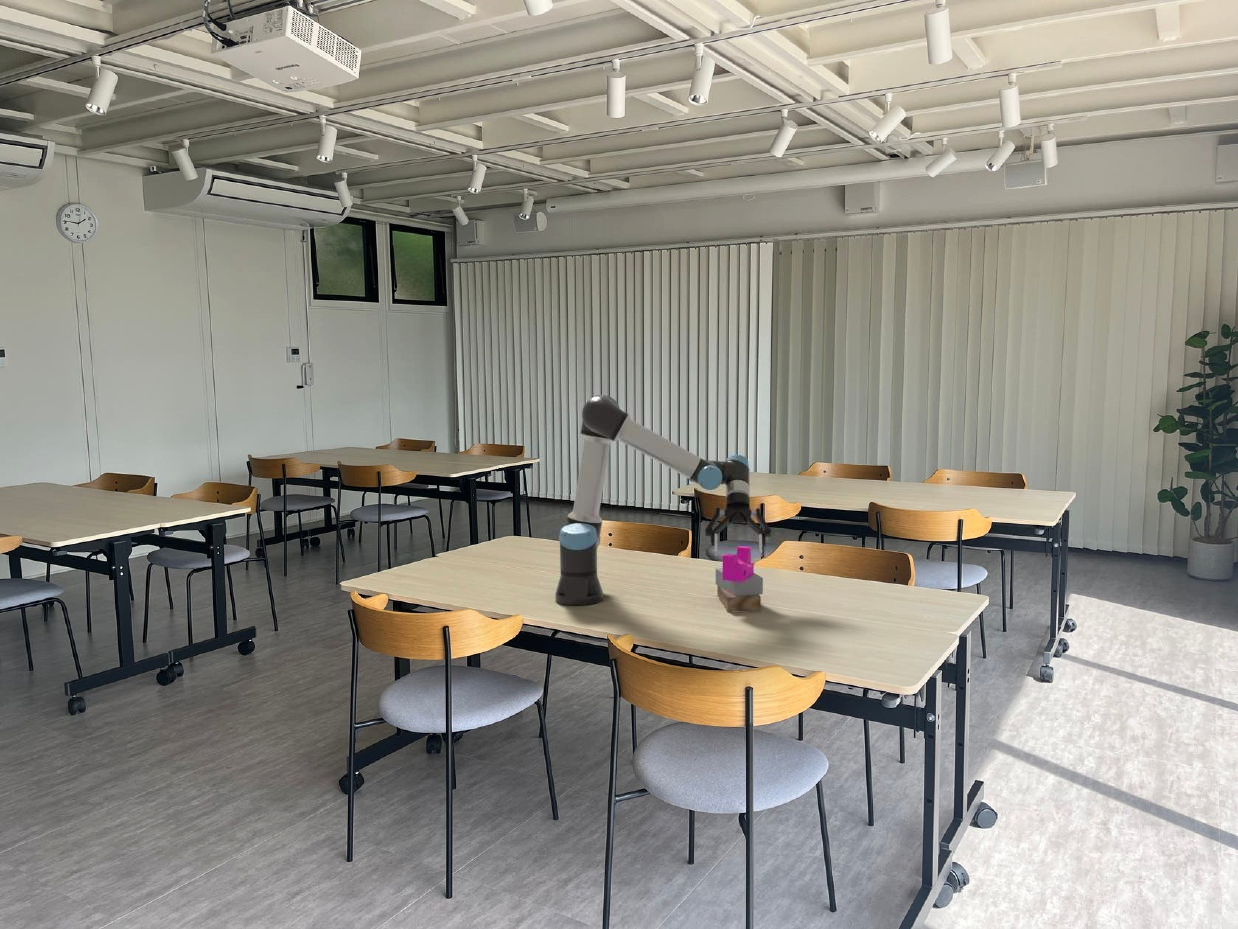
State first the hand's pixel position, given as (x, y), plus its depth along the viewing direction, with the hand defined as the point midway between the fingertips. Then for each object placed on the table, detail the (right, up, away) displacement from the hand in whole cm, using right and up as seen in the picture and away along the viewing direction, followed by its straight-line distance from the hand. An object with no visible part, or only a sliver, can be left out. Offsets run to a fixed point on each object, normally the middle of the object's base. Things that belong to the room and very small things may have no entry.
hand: (738, 554), depth 278 cm
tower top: (+1, -11, +5) cm, 12 cm away
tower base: (+1, -16, +5) cm, 17 cm away
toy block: (+1, -7, +1) cm, 7 cm away
